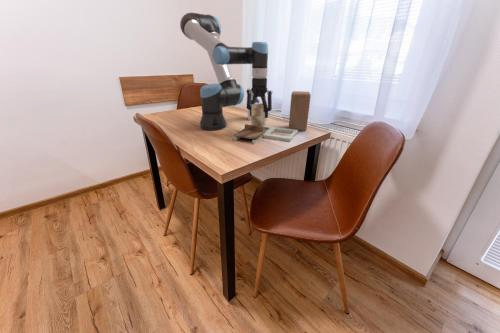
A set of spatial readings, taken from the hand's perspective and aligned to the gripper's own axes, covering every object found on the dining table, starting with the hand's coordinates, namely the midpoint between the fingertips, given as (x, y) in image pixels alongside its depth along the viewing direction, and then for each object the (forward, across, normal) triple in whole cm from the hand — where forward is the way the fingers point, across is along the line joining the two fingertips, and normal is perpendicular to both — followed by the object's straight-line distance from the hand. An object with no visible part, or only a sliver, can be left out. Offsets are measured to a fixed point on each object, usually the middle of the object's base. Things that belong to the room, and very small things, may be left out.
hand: (258, 123), depth 119 cm
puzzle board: (+5, +7, -5) cm, 10 cm away
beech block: (+2, 0, 0) cm, 2 cm away
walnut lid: (+3, 0, -11) cm, 12 cm away
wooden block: (+5, +18, +16) cm, 24 cm away
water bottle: (+5, -14, +25) cm, 29 cm away
